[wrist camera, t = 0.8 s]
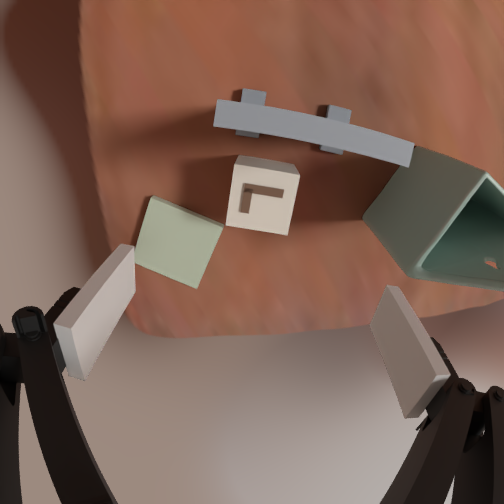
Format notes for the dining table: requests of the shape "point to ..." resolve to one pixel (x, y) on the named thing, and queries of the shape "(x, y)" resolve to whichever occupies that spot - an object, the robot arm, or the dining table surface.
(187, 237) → the pad
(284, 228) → the letter cube
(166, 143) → the dining table surface
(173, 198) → the dining table surface
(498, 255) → the planter
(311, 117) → the board
